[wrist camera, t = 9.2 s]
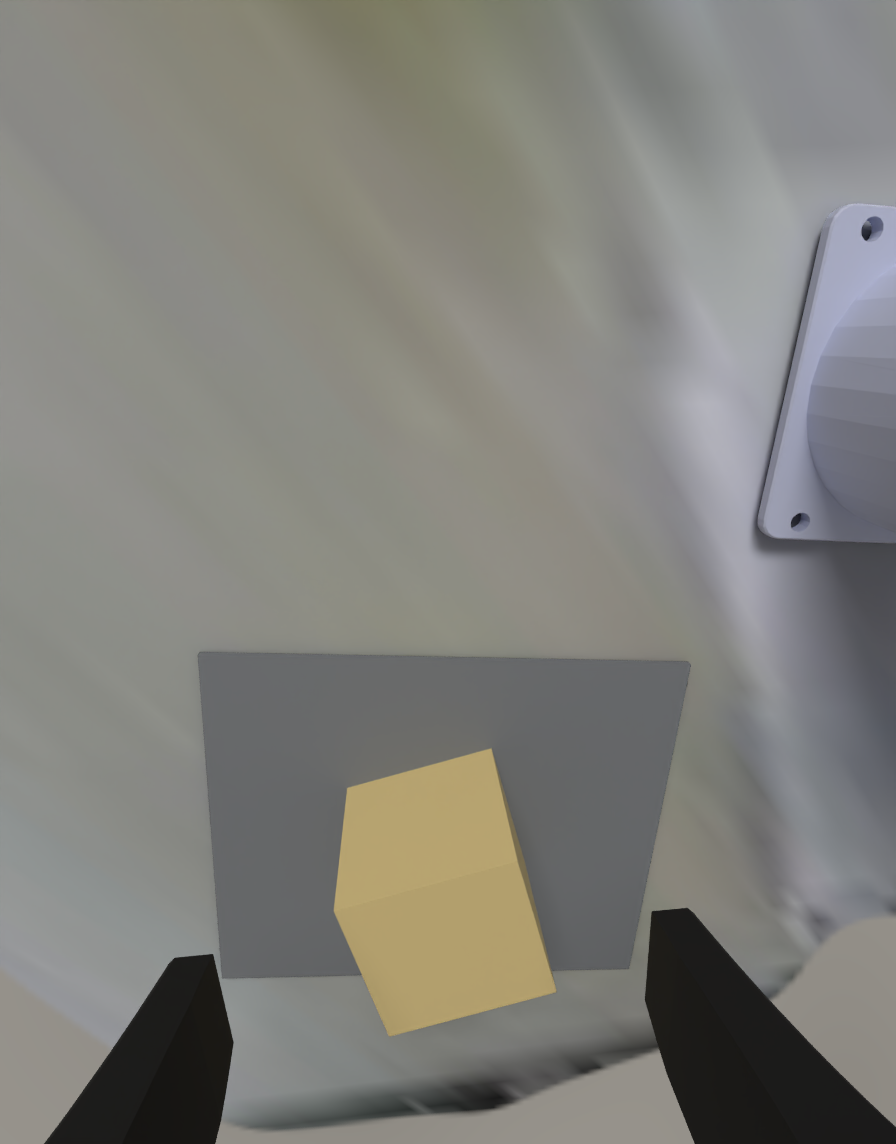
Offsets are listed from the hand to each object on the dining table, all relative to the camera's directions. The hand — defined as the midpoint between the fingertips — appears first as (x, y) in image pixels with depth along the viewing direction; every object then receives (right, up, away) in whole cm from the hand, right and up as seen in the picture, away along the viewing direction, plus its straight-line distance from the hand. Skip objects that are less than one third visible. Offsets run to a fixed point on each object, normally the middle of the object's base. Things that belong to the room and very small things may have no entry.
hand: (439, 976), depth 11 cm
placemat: (0, -1, +10) cm, 10 cm away
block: (0, -1, +10) cm, 10 cm away
